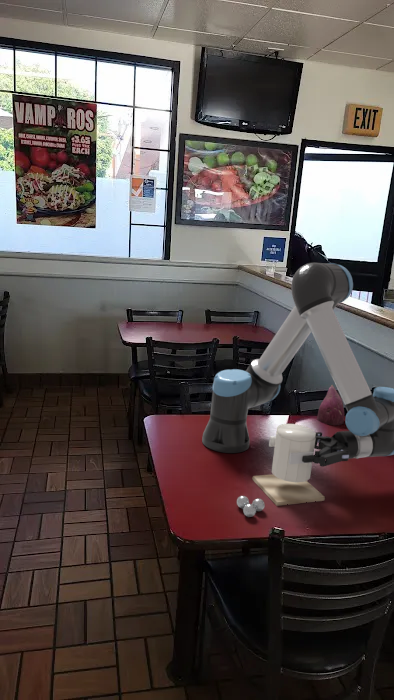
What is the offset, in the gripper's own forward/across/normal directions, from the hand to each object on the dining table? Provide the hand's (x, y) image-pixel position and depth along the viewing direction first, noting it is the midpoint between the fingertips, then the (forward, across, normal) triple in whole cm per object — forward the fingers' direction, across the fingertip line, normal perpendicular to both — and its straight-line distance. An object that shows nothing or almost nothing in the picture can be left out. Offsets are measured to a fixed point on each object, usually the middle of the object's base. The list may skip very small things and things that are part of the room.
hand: (279, 449), depth 130 cm
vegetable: (-49, +46, -12) cm, 69 cm away
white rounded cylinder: (-4, 0, -7) cm, 8 cm away
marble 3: (+9, -8, -12) cm, 17 cm away
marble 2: (+12, -10, -12) cm, 19 cm away
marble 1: (+12, -6, -12) cm, 18 cm away
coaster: (-4, 0, -12) cm, 13 cm away
